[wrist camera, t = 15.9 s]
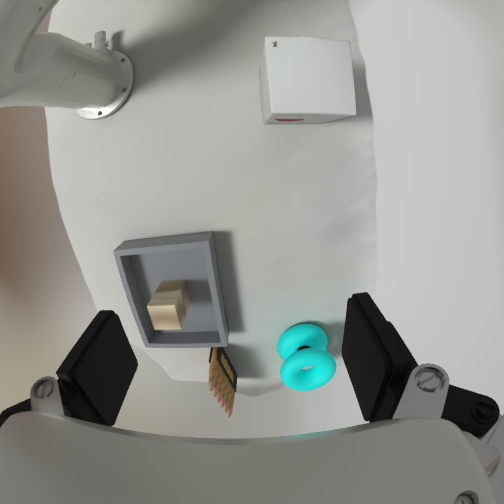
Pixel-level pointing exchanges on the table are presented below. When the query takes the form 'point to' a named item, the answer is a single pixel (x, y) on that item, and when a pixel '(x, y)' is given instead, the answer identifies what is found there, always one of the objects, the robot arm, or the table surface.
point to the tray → (175, 268)
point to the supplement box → (306, 80)
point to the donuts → (305, 357)
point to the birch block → (169, 305)
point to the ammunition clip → (222, 378)
